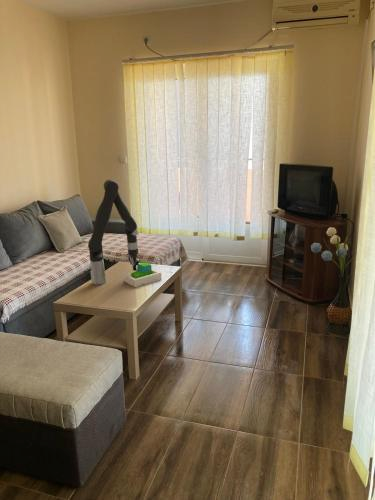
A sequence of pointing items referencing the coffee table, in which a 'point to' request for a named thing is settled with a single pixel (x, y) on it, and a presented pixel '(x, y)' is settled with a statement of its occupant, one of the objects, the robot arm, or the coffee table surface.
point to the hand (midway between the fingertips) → (134, 270)
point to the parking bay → (143, 279)
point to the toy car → (142, 270)
